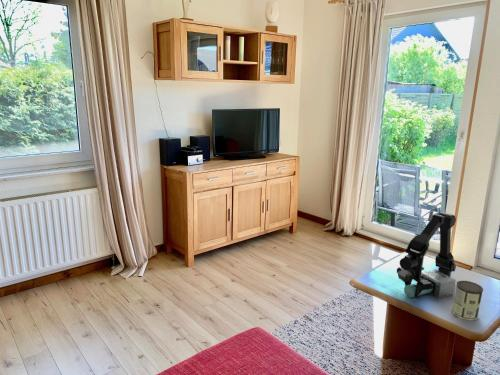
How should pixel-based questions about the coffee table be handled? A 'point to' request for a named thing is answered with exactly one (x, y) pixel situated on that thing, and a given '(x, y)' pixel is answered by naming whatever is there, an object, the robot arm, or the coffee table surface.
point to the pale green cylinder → (410, 290)
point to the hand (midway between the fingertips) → (411, 293)
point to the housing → (439, 283)
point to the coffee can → (467, 300)
